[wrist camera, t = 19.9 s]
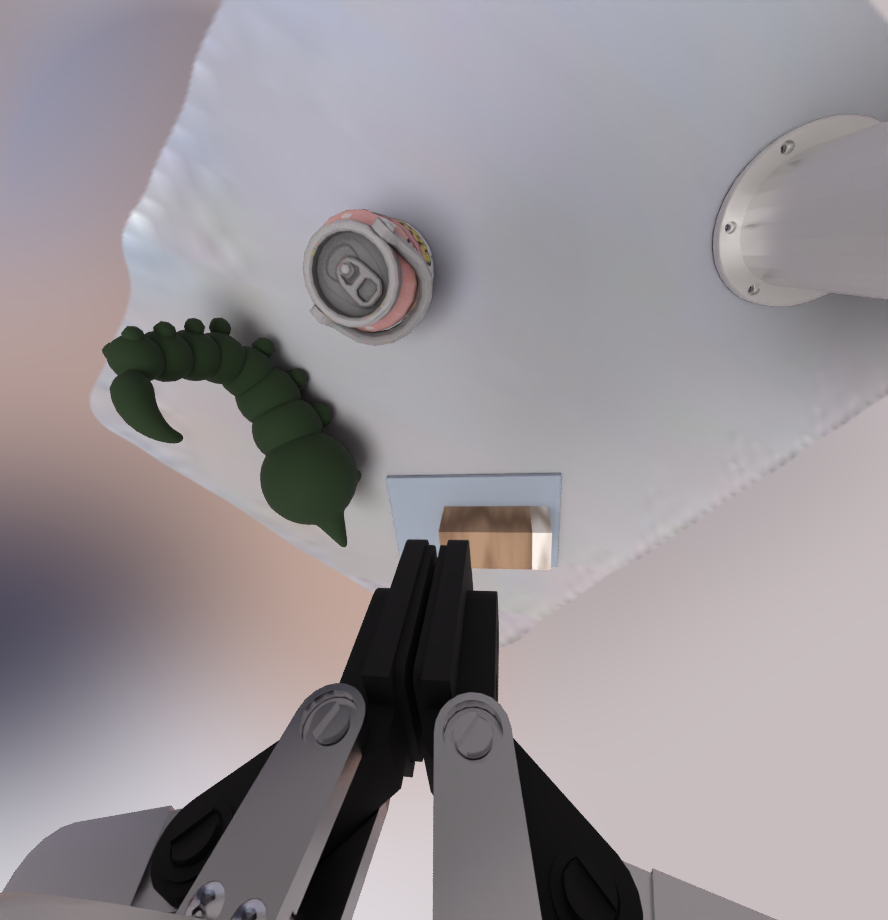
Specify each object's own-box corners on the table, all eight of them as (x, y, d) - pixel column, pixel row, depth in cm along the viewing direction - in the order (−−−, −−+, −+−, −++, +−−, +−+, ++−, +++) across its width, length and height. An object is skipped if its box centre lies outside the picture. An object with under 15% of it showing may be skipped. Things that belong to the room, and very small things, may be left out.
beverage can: (464, 276, 37) (448, 285, 26) (405, 342, 40) (370, 374, 30) (388, 194, 35) (337, 169, 24) (333, 272, 38) (268, 280, 28)
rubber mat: (560, 473, 45) (561, 475, 44) (556, 563, 50) (557, 566, 50) (387, 476, 48) (385, 478, 47) (402, 560, 54) (401, 563, 53)
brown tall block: (444, 506, 48) (547, 506, 46) (447, 539, 50) (546, 540, 48) (438, 532, 44) (551, 532, 42) (442, 567, 46) (550, 569, 44)
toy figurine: (218, 343, 45) (342, 521, 51) (29, 375, 28) (252, 637, 34) (279, 298, 42) (403, 493, 48) (108, 302, 24) (337, 606, 31)
